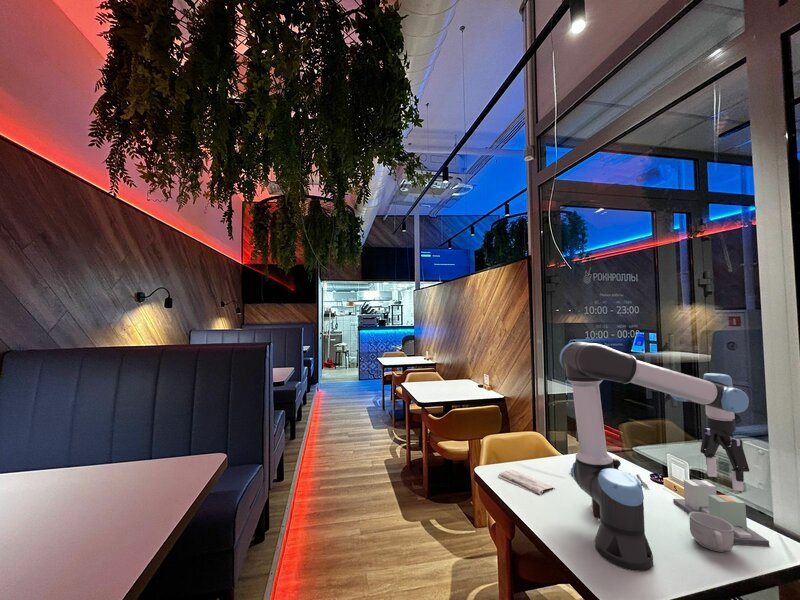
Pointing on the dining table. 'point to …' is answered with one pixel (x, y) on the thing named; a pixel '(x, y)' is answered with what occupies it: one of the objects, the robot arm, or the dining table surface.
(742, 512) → the block
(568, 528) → the dining table surface
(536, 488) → the newspaper
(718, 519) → the teacup
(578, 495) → the dining table surface
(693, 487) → the stepped base plate
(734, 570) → the dining table surface
